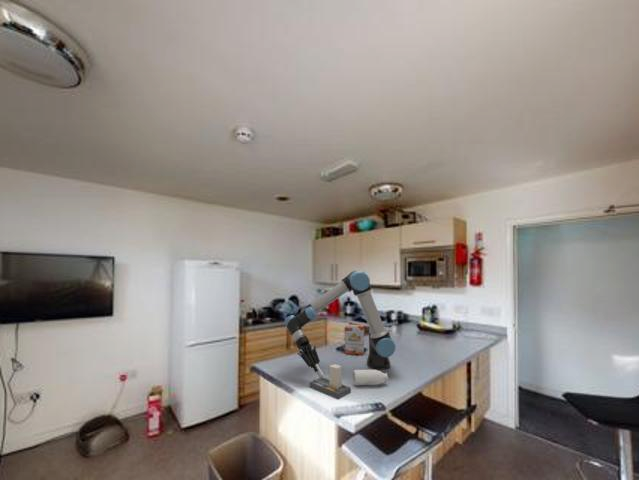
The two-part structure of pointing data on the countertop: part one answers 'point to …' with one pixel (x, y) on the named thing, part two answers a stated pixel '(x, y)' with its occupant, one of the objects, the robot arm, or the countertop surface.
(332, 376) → the switch tab
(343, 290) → the robot arm
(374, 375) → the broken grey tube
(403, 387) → the countertop surface
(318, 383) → the switch plate
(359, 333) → the cracker box
